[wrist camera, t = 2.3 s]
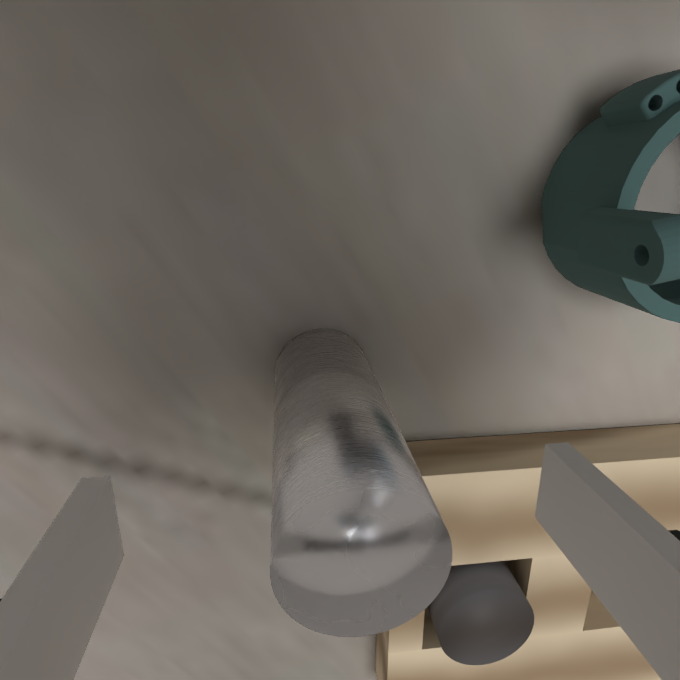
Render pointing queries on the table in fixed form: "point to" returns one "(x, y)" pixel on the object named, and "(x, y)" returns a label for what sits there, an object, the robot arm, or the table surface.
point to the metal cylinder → (347, 497)
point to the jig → (524, 562)
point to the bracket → (618, 202)
